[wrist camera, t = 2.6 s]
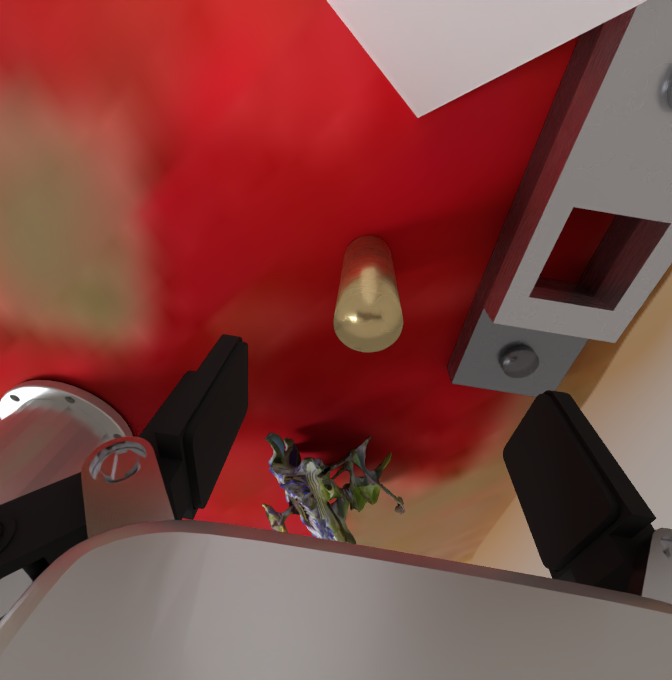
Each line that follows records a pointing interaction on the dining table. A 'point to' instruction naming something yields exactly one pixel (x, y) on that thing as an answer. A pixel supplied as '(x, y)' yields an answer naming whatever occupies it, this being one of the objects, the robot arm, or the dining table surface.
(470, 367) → the grey long rectangular block
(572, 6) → the milk
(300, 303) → the dining table surface
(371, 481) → the passion flower
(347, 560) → the robot arm
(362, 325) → the brass pin
